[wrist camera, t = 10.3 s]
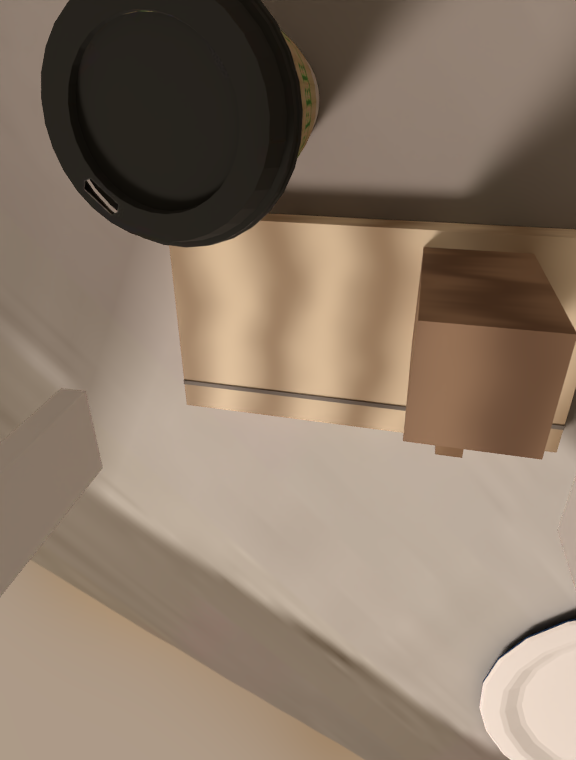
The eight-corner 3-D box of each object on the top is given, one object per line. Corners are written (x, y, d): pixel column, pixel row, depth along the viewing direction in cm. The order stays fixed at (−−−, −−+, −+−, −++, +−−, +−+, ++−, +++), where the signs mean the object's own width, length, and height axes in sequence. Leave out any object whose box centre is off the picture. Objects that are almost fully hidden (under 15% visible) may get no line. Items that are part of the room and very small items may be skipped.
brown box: (402, 420, 37) (391, 536, 28) (423, 246, 31) (418, 320, 22) (494, 431, 36) (514, 556, 27) (533, 253, 30) (577, 334, 21)
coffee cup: (388, 96, 30) (353, 113, 17) (273, 222, 35) (179, 309, 22) (258, -50, 28) (111, -152, 15) (156, 105, 33) (-19, 125, 20)
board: (196, 391, 43) (186, 405, 41) (178, 208, 36) (165, 216, 34) (550, 435, 37) (556, 453, 36) (609, 230, 31) (620, 241, 29)
